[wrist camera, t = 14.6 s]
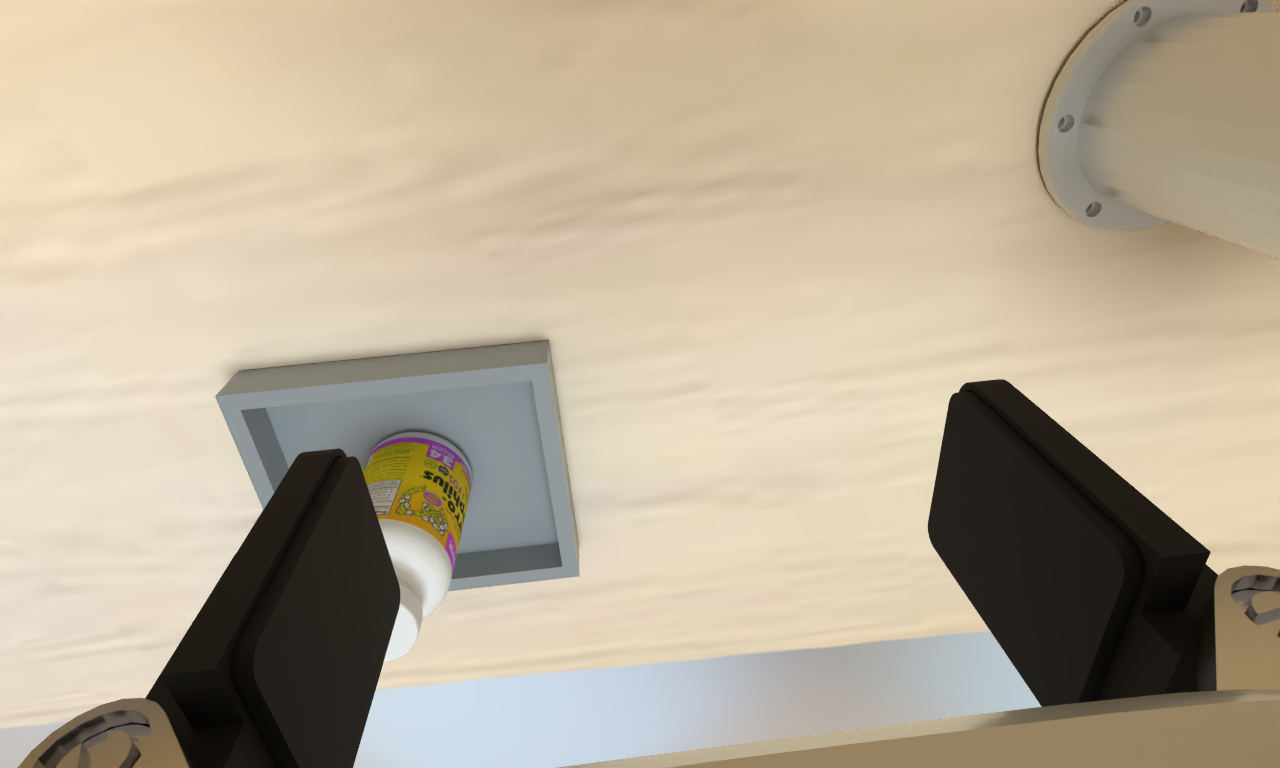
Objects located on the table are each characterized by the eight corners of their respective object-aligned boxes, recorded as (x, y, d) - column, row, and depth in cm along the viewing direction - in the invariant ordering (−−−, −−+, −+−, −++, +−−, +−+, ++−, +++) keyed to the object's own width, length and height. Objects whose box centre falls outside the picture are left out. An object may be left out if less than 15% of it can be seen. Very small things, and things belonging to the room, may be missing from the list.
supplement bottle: (489, 497, 45) (461, 660, 33) (393, 523, 45) (334, 693, 34) (449, 414, 41) (403, 563, 30) (346, 442, 42) (263, 600, 30)
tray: (548, 340, 40) (547, 363, 38) (579, 545, 48) (579, 576, 45) (238, 370, 39) (215, 396, 37) (320, 574, 47) (305, 607, 45)
